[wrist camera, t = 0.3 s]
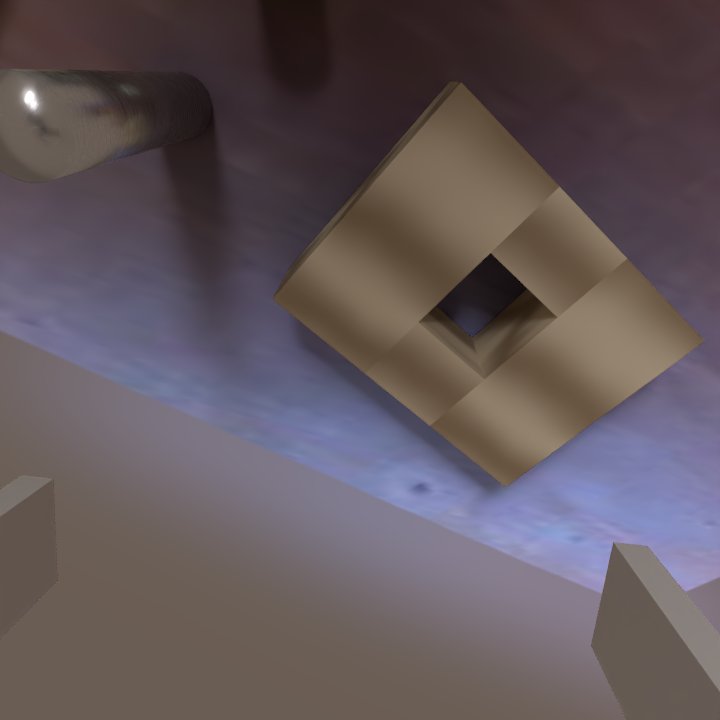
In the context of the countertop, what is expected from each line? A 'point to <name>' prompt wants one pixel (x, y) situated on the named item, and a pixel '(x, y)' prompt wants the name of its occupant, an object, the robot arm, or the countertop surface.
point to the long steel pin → (92, 118)
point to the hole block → (453, 263)
